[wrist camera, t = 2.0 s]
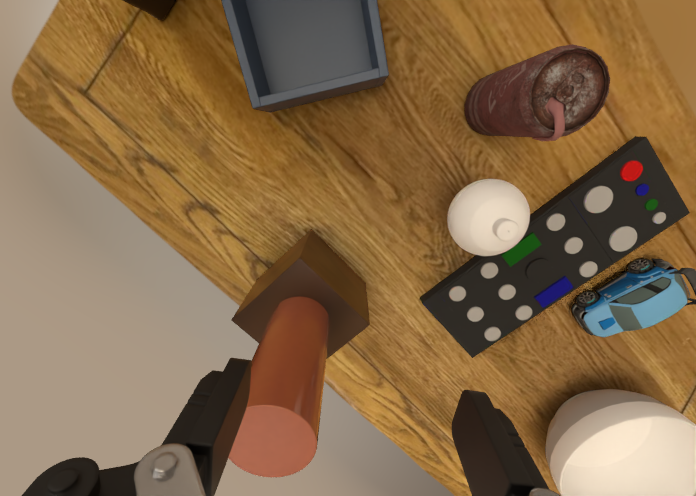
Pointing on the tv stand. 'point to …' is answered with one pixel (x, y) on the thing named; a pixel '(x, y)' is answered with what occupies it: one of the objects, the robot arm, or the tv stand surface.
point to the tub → (306, 49)
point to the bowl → (621, 446)
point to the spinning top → (488, 217)
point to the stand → (309, 291)
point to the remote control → (560, 247)
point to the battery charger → (153, 6)
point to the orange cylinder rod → (285, 391)
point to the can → (540, 95)
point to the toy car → (635, 298)
